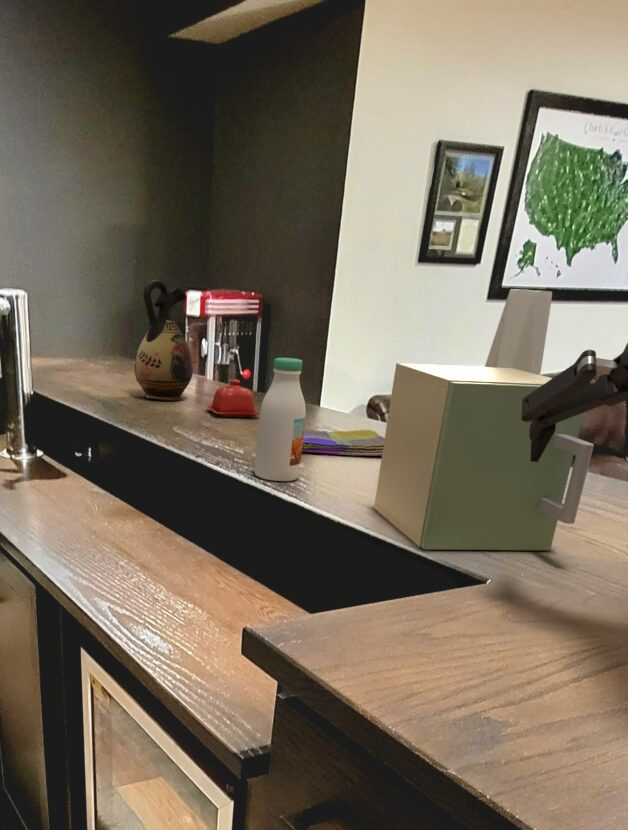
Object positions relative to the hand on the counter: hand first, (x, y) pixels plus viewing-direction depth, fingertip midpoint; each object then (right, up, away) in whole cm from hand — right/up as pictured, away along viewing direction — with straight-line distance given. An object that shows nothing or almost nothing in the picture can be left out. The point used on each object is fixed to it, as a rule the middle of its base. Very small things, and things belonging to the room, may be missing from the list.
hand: (599, 459), depth 81 cm
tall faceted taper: (+11, +1, +53) cm, 54 cm away
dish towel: (-16, +8, +69) cm, 71 cm away
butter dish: (-34, +18, +96) cm, 103 cm away
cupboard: (-8, -8, +23) cm, 25 cm away
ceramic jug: (-52, +25, +111) cm, 125 cm away
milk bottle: (-30, 0, +44) cm, 53 cm away
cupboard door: (-6, -12, +12) cm, 18 cm away
